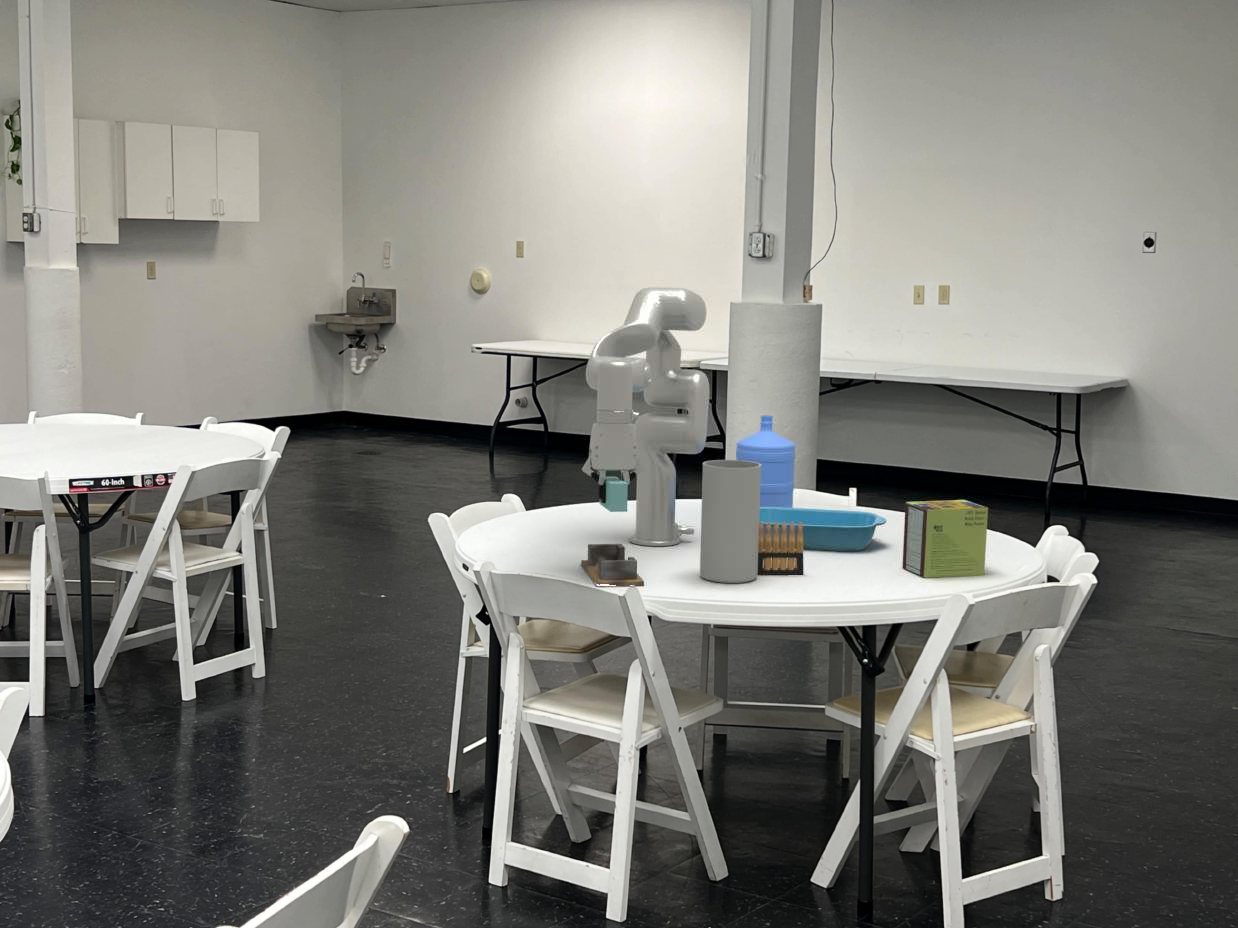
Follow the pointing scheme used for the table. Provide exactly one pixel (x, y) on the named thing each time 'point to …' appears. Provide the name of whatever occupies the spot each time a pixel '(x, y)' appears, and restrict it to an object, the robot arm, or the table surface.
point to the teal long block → (615, 495)
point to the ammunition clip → (782, 559)
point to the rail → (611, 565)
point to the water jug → (771, 464)
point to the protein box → (945, 538)
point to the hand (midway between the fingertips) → (612, 501)
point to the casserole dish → (824, 527)
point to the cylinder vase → (730, 521)
